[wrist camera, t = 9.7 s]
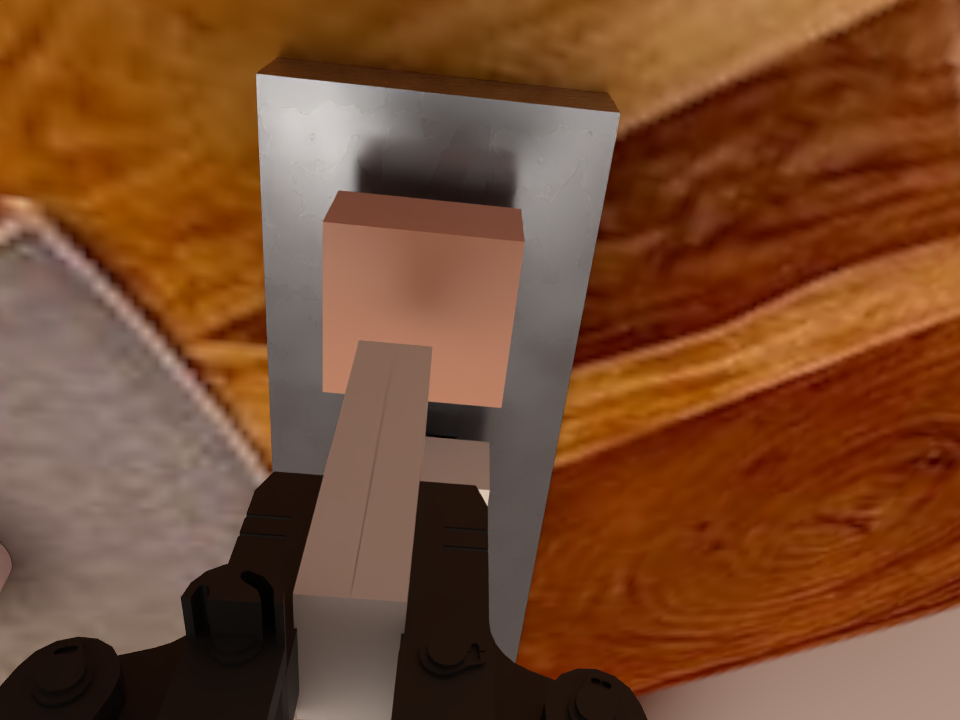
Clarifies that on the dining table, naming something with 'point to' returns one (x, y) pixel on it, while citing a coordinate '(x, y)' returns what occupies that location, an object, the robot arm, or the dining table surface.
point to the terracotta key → (422, 288)
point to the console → (445, 177)
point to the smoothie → (4, 565)
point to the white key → (457, 463)
